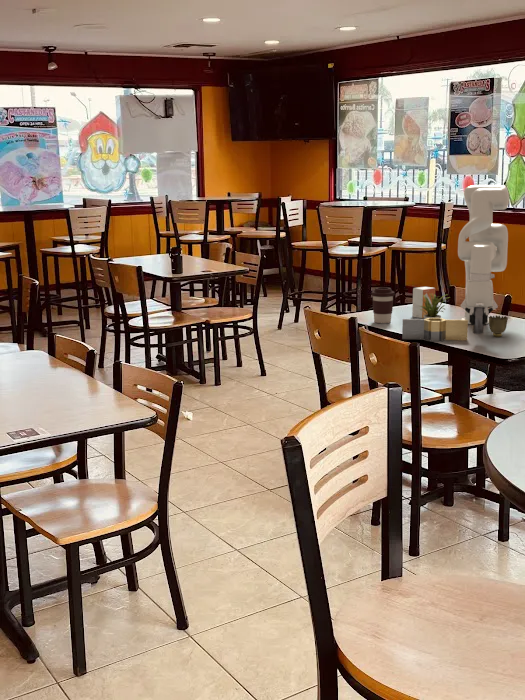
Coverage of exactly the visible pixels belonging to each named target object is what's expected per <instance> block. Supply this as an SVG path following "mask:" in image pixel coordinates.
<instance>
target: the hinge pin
mask: <svg viewBox="0 0 525 700" xmlns="http://www.w3.org/2000/svg"><path fill="white" fill-rule="evenodd" d="M475 306H484V304H483V303H476V305H475ZM473 315H474V324H473V325H472V333H473V334H476V335H480V334H481V335H482V334H484V330H485V329H484V327H485V325H484V307H474V311H473Z"/></svg>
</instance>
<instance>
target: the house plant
mask: <svg viewBox="0 0 525 700" xmlns="http://www.w3.org/2000/svg"><path fill="white" fill-rule="evenodd" d="M429 294H430V293H429ZM430 295H432V294H430ZM448 295H449V294H448V293H447V294H443V295H442V296H440V298H439V296H437V295H436V293H435V294H434V299H433V297H432V296H431V299H432V305H431V303H430V302H429V300H428V298H427V297H425V296H424V295H423V296H424V298H425V300H426V302H424V301H423V300H422V299H421V300H422V301H423V302H424V303H425V306H424V307H423V306H420V307H422V308H424V309H425V310H426V311H427V313H428V315H424V318H423V319H427V318H442V316H441V315H440V314H438V313H439V312H441V313H444V310H445V311H446V308H445V306H446V304H444V305H443V303H444V302H445V301H446V300H448V299H449V298H451V297H450V296H449V297H446V296H448ZM445 297H446V298H445ZM441 305H442V306H441ZM425 307H426V308H425ZM419 310H422V309H419ZM423 311H424V310H423ZM424 312H425V311H424ZM425 313H426V312H425ZM427 313H426V314H427Z"/></svg>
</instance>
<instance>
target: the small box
mask: <svg viewBox="0 0 525 700" xmlns="http://www.w3.org/2000/svg"><path fill="white" fill-rule="evenodd" d="M429 293H430V294H432V295H430V294H429ZM434 294H435V295H436V288H435V287H433V286H432V287H430V286H420V287H413V288H412V317H413V318H417V319H424V315H428V313H427V311H426V310H425V309H424V308H422V307H420V306H423V307H424V306H425V303H424V302H426V300H425V298H424V296H425V297H427V298H428V300H429V302H430V303H431V305H432V299H431V296H432V297H433V299H434ZM423 295H424V296H423ZM421 299H422V300H423V301H424V302H423V301H422V300H421ZM425 308H426V307H425ZM419 309H422V310H419ZM423 310H424V311H425V312H426V313H427V314H426V313H425V312H424V311H423Z"/></svg>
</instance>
